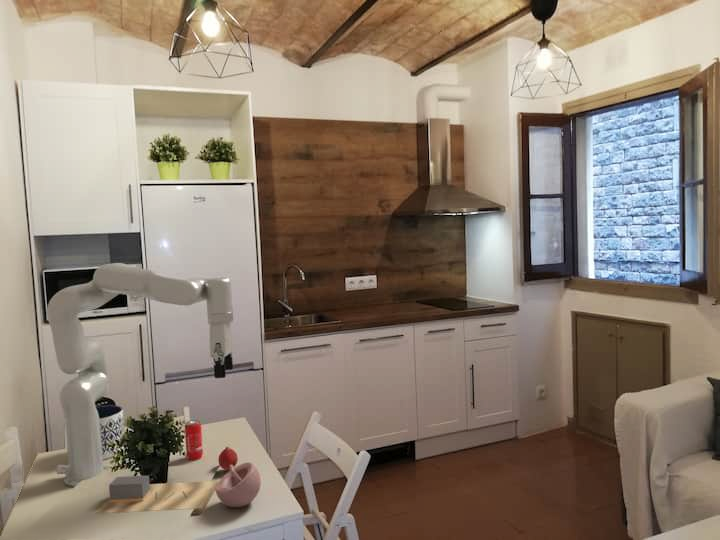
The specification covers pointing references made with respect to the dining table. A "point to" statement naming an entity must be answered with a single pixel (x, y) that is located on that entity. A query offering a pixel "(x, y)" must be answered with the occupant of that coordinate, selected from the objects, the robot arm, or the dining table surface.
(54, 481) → the dining table surface
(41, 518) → the dining table surface
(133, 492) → the block
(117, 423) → the planter
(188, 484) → the oak board
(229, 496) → the mortar and pestle
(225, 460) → the pomegranate
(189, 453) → the beverage can
